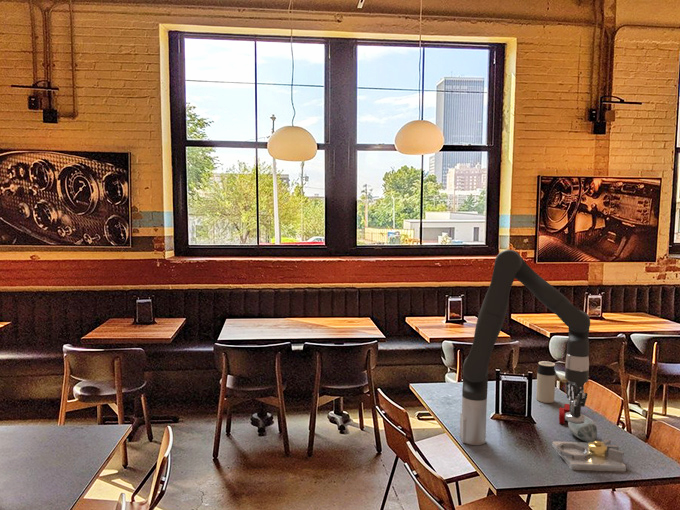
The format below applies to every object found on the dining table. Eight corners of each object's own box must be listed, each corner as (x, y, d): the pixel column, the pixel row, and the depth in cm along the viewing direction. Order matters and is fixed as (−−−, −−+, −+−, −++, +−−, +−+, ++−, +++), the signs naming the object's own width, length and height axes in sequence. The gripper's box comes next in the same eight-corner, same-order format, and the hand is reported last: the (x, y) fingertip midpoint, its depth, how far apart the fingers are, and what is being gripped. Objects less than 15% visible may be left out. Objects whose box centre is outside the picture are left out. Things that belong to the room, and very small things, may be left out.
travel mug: (557, 403, 240) (558, 365, 239) (539, 403, 240) (541, 365, 239) (550, 397, 248) (551, 361, 247) (533, 397, 248) (535, 360, 247)
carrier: (568, 469, 176) (568, 451, 175) (549, 446, 194) (549, 430, 193) (629, 471, 175) (630, 454, 174) (605, 448, 193) (606, 432, 192)
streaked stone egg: (606, 437, 195) (592, 412, 197) (582, 447, 195) (569, 422, 198) (595, 432, 208) (582, 408, 210) (573, 441, 208) (560, 418, 211)
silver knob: (569, 423, 181) (570, 404, 180) (562, 416, 187) (562, 397, 186) (587, 424, 180) (588, 404, 180) (580, 417, 187) (580, 398, 186)
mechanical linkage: (578, 428, 212) (578, 416, 212) (559, 425, 215) (560, 413, 214) (575, 414, 227) (576, 403, 227) (558, 412, 230) (558, 401, 229)
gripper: (558, 361, 189) (556, 407, 191) (574, 372, 175) (572, 421, 177) (579, 361, 189) (577, 407, 190) (596, 373, 175) (594, 422, 176)
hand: (574, 414), depth 183 cm, fingers closed on silver knob, 3 cm apart
